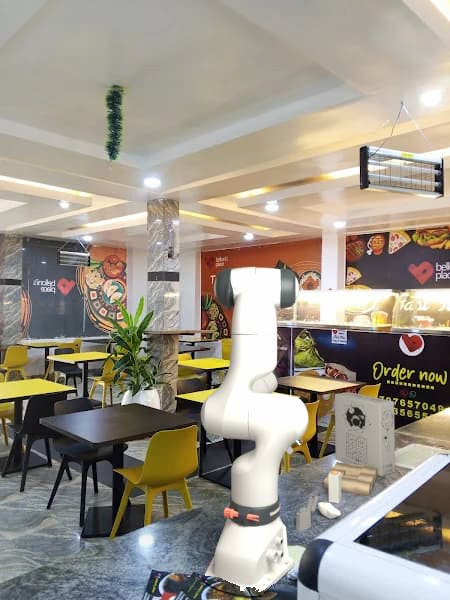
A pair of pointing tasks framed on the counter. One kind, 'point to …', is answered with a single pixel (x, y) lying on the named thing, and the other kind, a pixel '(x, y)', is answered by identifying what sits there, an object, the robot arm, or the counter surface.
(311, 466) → the counter surface
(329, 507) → the dumpling
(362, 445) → the cereal box
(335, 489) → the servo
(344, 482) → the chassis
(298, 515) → the lighter
